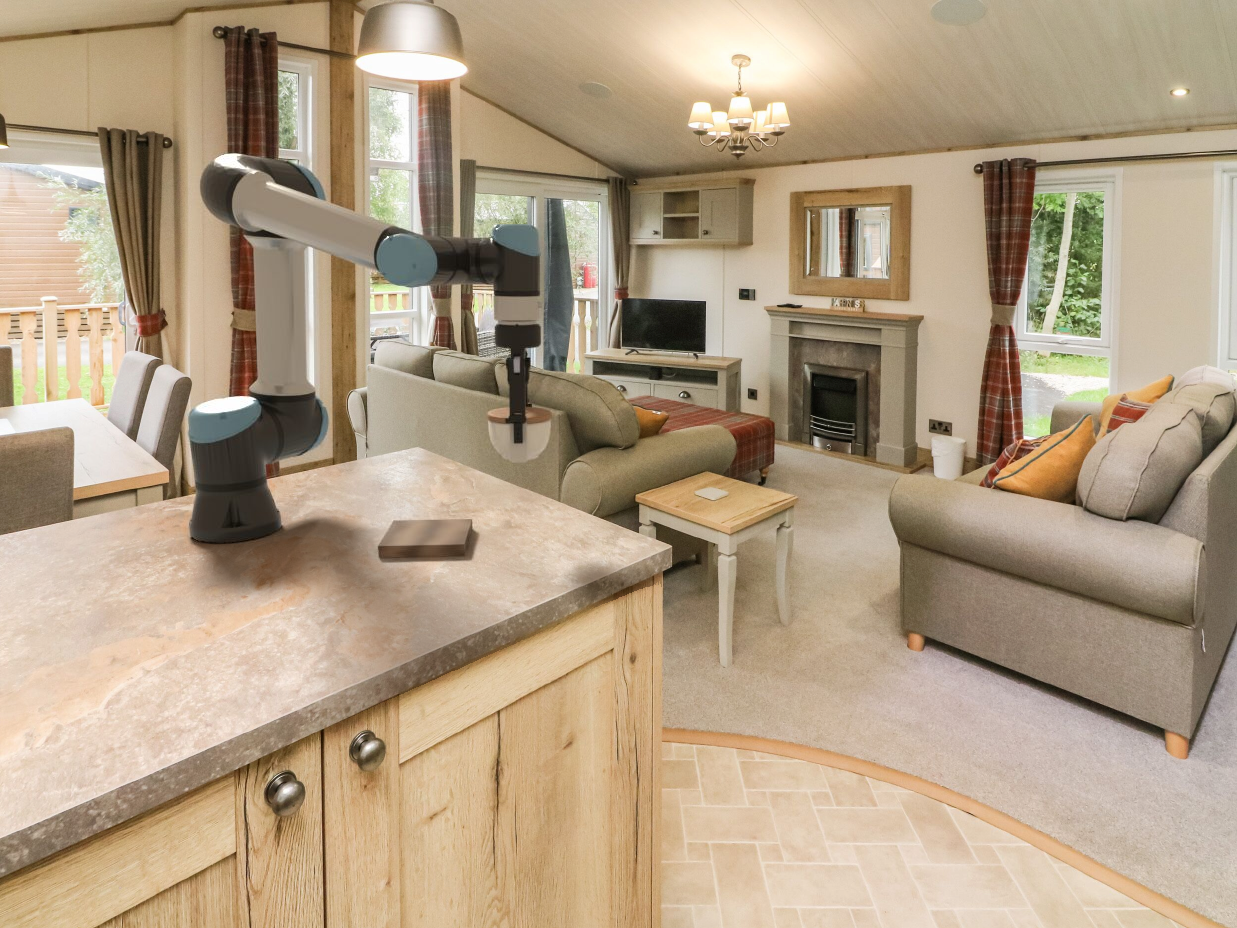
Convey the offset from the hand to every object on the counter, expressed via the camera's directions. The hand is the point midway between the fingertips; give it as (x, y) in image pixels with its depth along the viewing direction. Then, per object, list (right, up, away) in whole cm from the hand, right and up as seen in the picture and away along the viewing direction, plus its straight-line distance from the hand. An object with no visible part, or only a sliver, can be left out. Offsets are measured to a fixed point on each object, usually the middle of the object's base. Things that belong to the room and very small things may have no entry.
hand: (520, 454), depth 141 cm
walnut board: (-16, -15, +3) cm, 23 cm away
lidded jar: (0, -1, 0) cm, 1 cm away
